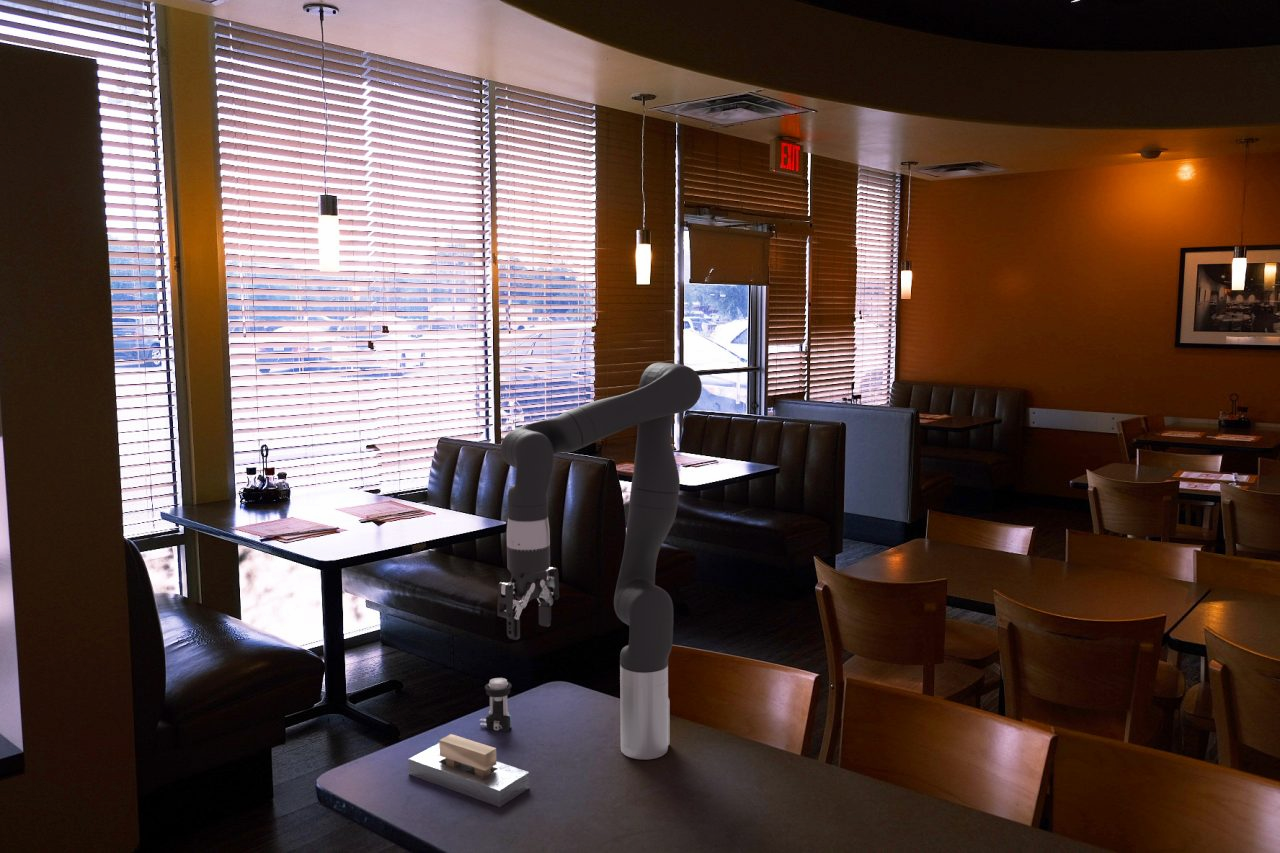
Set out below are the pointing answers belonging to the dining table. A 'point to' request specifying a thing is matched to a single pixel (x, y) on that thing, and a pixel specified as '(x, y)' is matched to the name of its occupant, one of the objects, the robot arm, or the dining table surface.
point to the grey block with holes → (470, 777)
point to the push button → (498, 705)
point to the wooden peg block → (468, 754)
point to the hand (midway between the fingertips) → (529, 632)
